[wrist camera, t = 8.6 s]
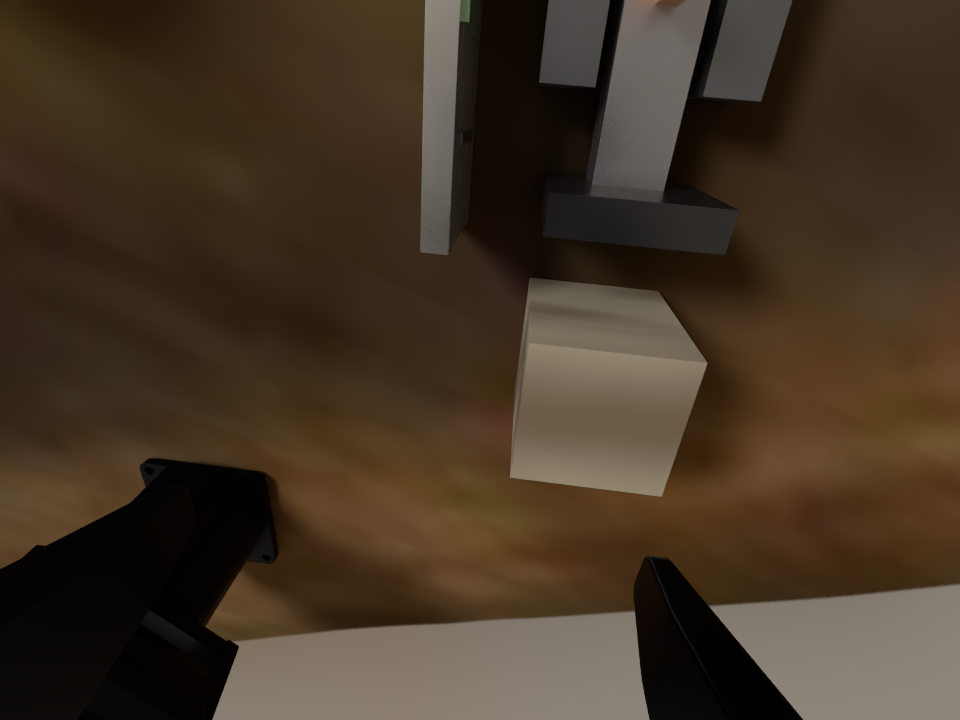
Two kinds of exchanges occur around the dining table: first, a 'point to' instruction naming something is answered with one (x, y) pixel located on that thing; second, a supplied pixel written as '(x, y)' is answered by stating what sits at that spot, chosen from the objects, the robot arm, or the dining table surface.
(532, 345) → the block
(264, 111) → the dining table surface
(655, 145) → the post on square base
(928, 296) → the dining table surface
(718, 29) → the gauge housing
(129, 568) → the robot arm
